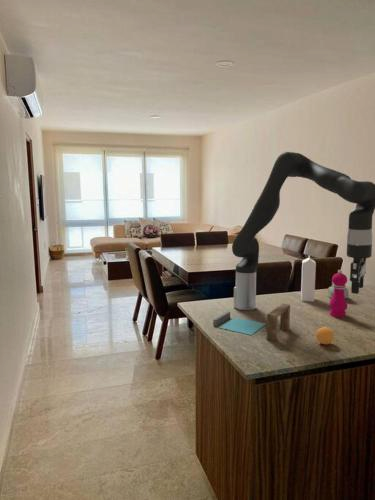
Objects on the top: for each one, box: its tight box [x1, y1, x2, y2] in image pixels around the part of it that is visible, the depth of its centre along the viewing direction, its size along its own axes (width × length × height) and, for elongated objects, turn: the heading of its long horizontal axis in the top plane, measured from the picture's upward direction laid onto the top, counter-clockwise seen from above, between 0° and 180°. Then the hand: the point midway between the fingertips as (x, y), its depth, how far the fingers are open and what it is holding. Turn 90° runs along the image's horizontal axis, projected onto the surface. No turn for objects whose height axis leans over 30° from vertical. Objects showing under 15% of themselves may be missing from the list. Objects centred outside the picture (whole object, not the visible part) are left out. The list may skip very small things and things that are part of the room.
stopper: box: [212, 311, 231, 327], centre depth 155 cm, size 1×12×2 cm, turn 145°
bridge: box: [266, 303, 291, 342], centre depth 141 cm, size 3×15×10 cm, turn 145°
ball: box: [315, 326, 335, 346], centre depth 131 cm, size 6×6×6 cm
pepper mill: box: [328, 269, 348, 318], centre depth 160 cm, size 7×7×20 cm
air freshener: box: [327, 280, 350, 299], centre depth 185 cm, size 11×8×10 cm
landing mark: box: [219, 317, 267, 336], centre depth 150 cm, size 14×14×1 cm
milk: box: [300, 255, 317, 302], centre depth 183 cm, size 6×6×22 cm
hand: (357, 290), depth 126 cm, fingers open, 8 cm apart
